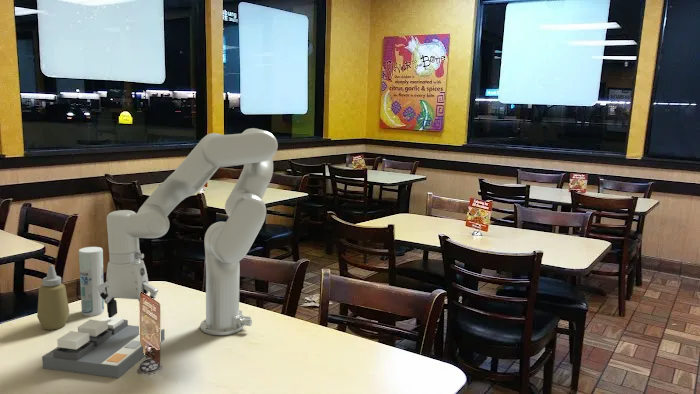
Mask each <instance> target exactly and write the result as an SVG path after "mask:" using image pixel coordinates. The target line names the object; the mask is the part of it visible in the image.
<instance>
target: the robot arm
mask: <svg viewBox="0 0 700 394" xmlns="http://www.w3.org/2000/svg"><path fill="white" fill-rule="evenodd" d="M278 145H279V144H278V140H277V138H276V136H274V135H273V133H271V132H269V131H267V130H263V129H259V128H256V127H255V128H254V127H252V128H247V129H245V130H244V131H243V132H242V133H233V134H221V133H217V132H215V133H214V132H212V133H208V134H206V135H205V136H204V137H202V138H201V139H200V140H199V142H198V143H197V144H196V146H194V148H193V149H192V150H191V152H189V154H188V155H187V156H186V157H185V159H184V160H183V161H182V162H181V163H180V164H179V165H178V166H177V168H176V169H175V170H174V171H173V172H172V173H171V174H170V175H169V176H168V177H167V178H166V179H165V180H164V181H163V182H162V183H160V184H159V186H157V188H155V190H153V192H152V193H151V194H150V195H149V196H148V197H147V199H146V200H145V201H144V202H143V204H142V205H141V206H140V207H139V208H138V211H137V212H136V211H133V210H129V209H123V210H121V209H119V210H114V211H112V212H109V213H108V214H107V216H106V228H107V231H106V232H107V241H108V254H109V256H108V257H109V261H108V262H107V268H106V277H105V278H106V280H105V282H104V283H103V284H101V285H99V286H97V290H98V291H99V293H100V296H101V297H102V298H103V299H104V304H106V308H107V310H106V311H107V316H108V317H109V318H111V317H115V316H116V315H117V314H118V305H117V303H118V302H117V300H116V299H123V300H124V299H125V300H138V302H139V303H140V293H141V292H143V293H145V294H146V295H148V294H149V293H150V294H149V295H148V296H149V297H151V298H153V299H154V300H155V299H156V296H157V295H158V292H159V289H158V288H156V287H155V286H153V285H151V284H150V283H149V278H148V273H147V272H148V271H147V268H146V265H145V262H144V260H143V259H144V258H145V254H144V253H141V250H140V239H158V238H162V237H163V236H165V235H166V234H167V233H168V231H169V229H170V225H171V224H170V220H169V217H168V216H169V215H170V214H171V213H172V211H173V210H174V209H175V208H176V207H177V206H178V205H179V204H180V203H181V202H182V201H184V200H185V199H186V198H189V197H191V196H193V195H196V194H197V193H199V192H200V191H201V190H202V189H203V187H204V186H205V185H206V184H207V183H208V182H209V180H210V179H211V178H212V177H213V176H214V174H215V173H216V172H217V170H218V169H220V167H221V168H223V167H224V168H225V167H235V166H243V168H242V171H241V173H240V176H239V177H238V180H237V181H236V182H235V184H234V187H233V189H232V190H231V192H230V194H229V196H228V197H227V199H226V200H225V203H224V209H225V212H226V215H227V216H228V218H227V220H226V221H217V222H215V223H212V224H211V225H210V226H209V227H208V228H207V230H206V232H205V234H204V242H203V243H204V254H205V319H203V320H202V321H201V323H200V330H201V331H202V332H203V333H205V334H207V335H212V336H227V335H232V334H233V335H234V334H237V333H239V332H240V331H241V330H242V329H244V327H247V326H248V327H252V324H253V320H252V319H251V318H252V317H251V316H247V315H246V316H244V314H243V310H240V277H241V275H240V274H241V273H240V261H242V259H244V258H245V256H247V254H248V252H249V251H250V249H251V247H252V245H253V243H254V242H255V240H256V238H257V236H258V234H259V232H260V230H261V229H262V227H263V225H264V223H265V220H266V218H267V217H266V216H267V207H266V204H265V201H263V197H264V195H265V193H266V192H267V188H268V187H269V184H270V182H271V180H272V178H273V173H274V159H273V157H274V156H275V155H276V154H277V151H278V148H279V147H278Z"/></svg>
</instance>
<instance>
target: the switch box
mask: <svg viewBox="0 0 700 394" xmlns="http://www.w3.org/2000/svg"><path fill="white" fill-rule="evenodd" d="M160 329H161V343H162V342H164V341H165V337H166V335H165V329H163V328H160ZM89 340H90V341H88V342H87V343H85V344H84V345H82V346H81V347H79V348H78V349H68V348H60V347H58V346H56V347H55V348H54V349H52V350H50V351H49V352H48V353H47V352H46V354H44V355H42V357H41V358H42V360H41V361H42V369H48V370H54V371H62V372H70V373H77V374H83V375H93V376H99V377H107V378H116V379H119V378H120V377H122V376H123V375H124V374H125V373H126V372H128V371H129V370H130V369H131V368H132V367H134V365H136V364H138V362H140V361H141V360H142V359H143V358H144V357H146V355H144V353H143V346H141V343H140V334H139V325H132V324H131V325H130V324H129V321H128V319H124V322H123V323H121V324H120V325H118V326H117V327H115V328H108V329H107V330H105V331H104V332H102V333H101V334H99V335H98V336H96V337H94V336H89Z"/></svg>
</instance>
